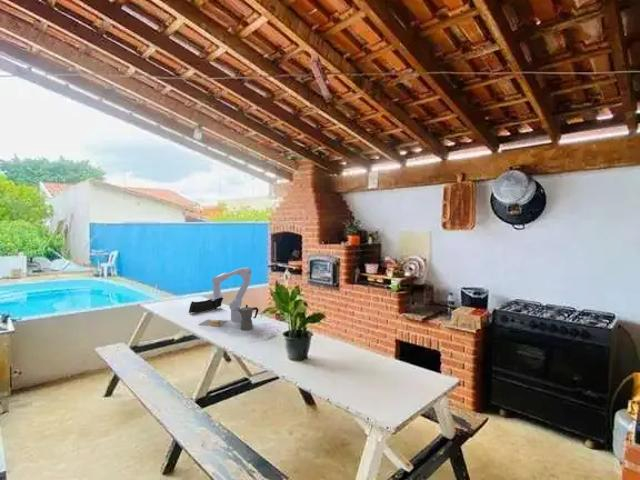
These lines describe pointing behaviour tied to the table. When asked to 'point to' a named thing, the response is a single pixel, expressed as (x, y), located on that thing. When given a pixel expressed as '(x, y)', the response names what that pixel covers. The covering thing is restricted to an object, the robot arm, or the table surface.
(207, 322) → the mat
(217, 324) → the card box
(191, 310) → the black tray
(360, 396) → the table surface
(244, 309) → the coffeepot
